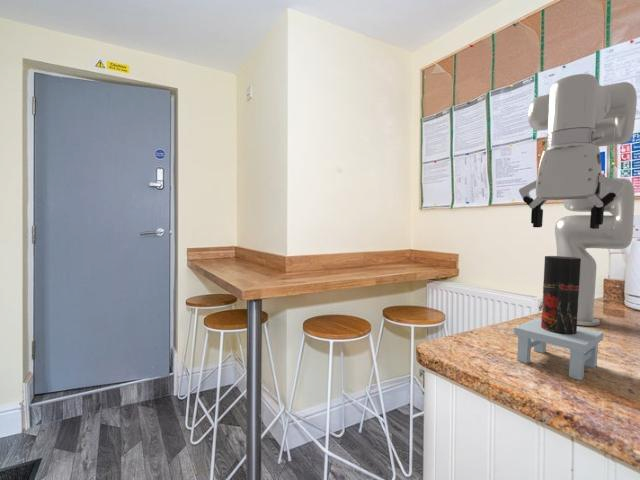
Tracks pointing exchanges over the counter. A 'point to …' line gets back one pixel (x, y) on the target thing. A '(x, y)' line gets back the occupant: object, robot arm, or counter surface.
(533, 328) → the pale blue square tabletop
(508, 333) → the counter surface
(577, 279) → the deodorant
